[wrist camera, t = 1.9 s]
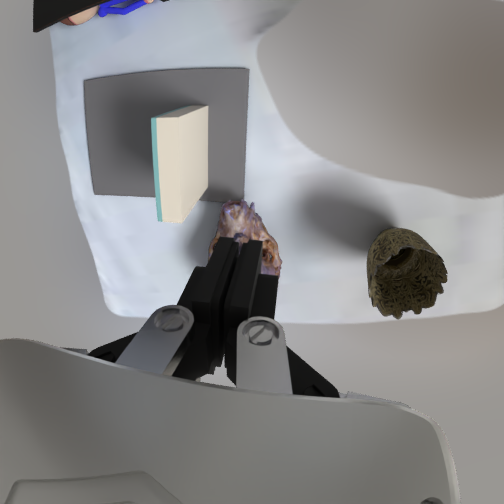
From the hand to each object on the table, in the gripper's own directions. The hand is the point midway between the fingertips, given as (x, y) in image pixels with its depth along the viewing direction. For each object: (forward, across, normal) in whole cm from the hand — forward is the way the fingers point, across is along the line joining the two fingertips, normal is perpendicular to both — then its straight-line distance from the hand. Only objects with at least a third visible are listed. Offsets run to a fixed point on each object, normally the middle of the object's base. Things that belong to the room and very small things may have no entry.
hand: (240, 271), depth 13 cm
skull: (+19, +2, +10) cm, 21 cm away
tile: (+18, +7, -1) cm, 20 cm away
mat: (+19, +11, -2) cm, 22 cm away
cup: (+19, -13, +7) cm, 24 cm away
